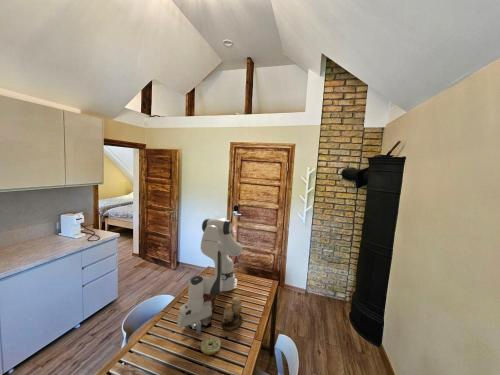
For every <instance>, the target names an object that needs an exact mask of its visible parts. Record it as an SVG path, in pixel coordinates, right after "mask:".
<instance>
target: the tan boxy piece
mask: <svg viewBox="0 0 500 375" xmlns="http://www.w3.org/2000/svg"><path fill="white" fill-rule="evenodd" d="M211 309H213V307H211ZM213 310H214V309H213ZM212 315H213V313H212V314H211V316H209V317H206V318H204V319H202V320H200V321H201V326H204V327H205V326H208V325H209V323H210V322H211V319H212V317H213V316H212ZM194 323H196V322H194ZM191 327H192V326H191V325H187V326H185V327H184V328H186V329H190V328H191Z"/></svg>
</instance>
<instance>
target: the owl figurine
mask: <svg viewBox="0 0 500 375" xmlns="http://www.w3.org/2000/svg"><path fill="white" fill-rule="evenodd" d="M231 302H232V304H230V303H227V304H226V305H225V308H224V313H223V318H222V320H221V323H220V327H221V329H222V330H223V331H224V332H227V333H228V332H234V331H235V330H238V329H239V328H240V326H242V324H243V321H244V317H243V316H242V315H241V314H242V313H241V312H242V309H243V304H242V300H241V297H239V296H236V297H233V298H231Z"/></svg>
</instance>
